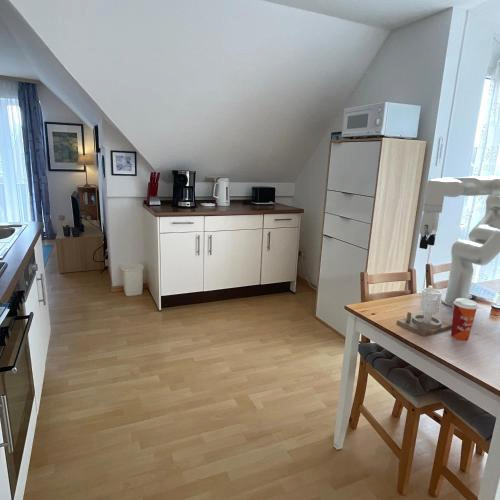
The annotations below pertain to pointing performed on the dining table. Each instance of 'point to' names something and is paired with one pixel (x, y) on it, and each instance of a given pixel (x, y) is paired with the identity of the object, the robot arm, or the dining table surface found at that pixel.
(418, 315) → the locating board
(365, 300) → the dining table surface
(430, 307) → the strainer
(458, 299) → the coffee cup
